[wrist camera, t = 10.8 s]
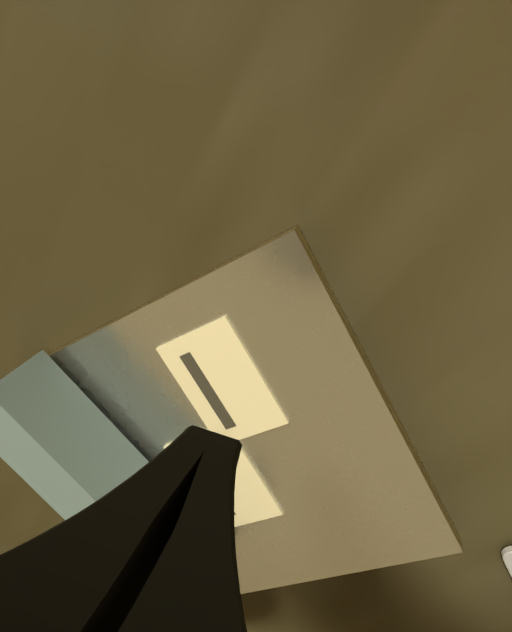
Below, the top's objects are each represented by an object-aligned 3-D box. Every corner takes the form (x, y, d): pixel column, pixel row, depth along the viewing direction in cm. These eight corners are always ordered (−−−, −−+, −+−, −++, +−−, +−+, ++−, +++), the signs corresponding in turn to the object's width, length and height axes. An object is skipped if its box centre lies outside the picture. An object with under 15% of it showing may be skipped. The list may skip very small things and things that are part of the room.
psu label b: (283, 511, 24) (282, 515, 24) (221, 527, 26) (220, 531, 25) (226, 423, 23) (225, 426, 22) (164, 445, 24) (162, 448, 24)
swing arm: (262, 566, 25) (242, 650, 21) (210, 586, 27) (182, 668, 23) (52, 341, 22) (-18, 390, 18) (8, 379, 24) (-65, 432, 20)
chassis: (459, 535, 23) (481, 634, 19) (220, 584, 29) (194, 668, 25) (297, 224, 19) (276, 256, 15) (52, 351, 25) (-18, 402, 20)
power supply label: (289, 420, 22) (288, 423, 22) (220, 444, 23) (219, 447, 23) (226, 315, 20) (225, 317, 20) (157, 347, 22) (155, 349, 22)
